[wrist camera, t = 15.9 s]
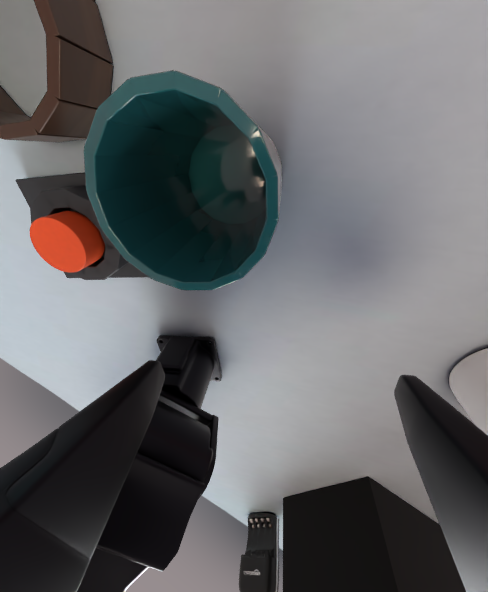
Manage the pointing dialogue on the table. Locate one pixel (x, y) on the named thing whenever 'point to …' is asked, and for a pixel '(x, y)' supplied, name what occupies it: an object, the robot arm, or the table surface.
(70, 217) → the release button
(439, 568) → the matte black box
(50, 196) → the button housing
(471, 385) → the pill bottle
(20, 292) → the table surface
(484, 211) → the table surface
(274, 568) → the battery charger
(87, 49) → the stave barrel planter
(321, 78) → the table surface
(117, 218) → the cup
